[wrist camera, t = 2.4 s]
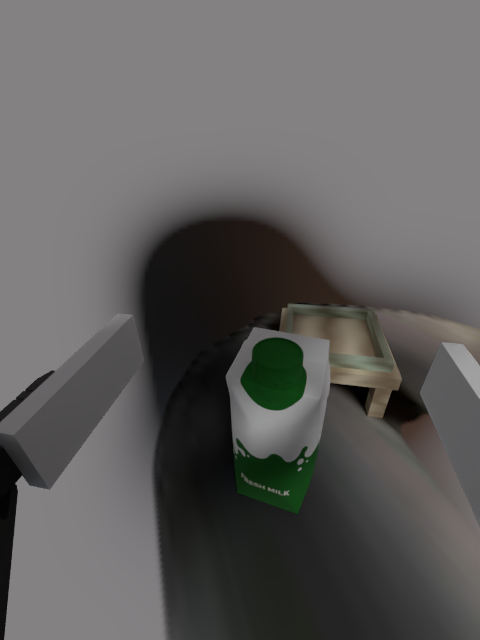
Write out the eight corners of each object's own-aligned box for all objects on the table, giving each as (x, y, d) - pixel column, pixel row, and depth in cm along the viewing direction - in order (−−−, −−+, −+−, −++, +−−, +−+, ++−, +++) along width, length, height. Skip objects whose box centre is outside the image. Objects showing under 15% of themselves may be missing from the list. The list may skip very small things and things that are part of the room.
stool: (366, 351, 54) (378, 306, 49) (386, 421, 41) (405, 369, 36) (280, 343, 57) (282, 300, 52) (272, 406, 43) (274, 356, 38)
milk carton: (226, 498, 32) (213, 359, 22) (251, 432, 40) (250, 304, 29) (305, 527, 30) (333, 385, 19) (316, 451, 37) (341, 317, 27)
